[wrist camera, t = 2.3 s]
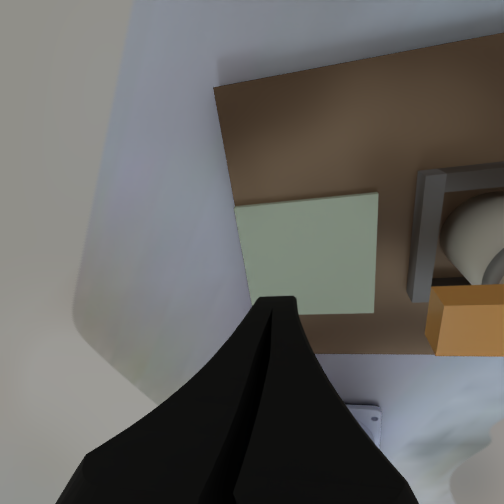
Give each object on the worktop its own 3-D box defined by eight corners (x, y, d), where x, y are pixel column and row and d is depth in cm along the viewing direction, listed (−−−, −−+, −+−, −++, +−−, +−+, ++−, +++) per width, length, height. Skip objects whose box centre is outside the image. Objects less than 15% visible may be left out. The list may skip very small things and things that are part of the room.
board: (587, 342, 17) (730, 465, 11) (263, 342, 21) (249, 434, 15) (753, -12, 10) (1348, -157, 4) (218, 88, 14) (160, 81, 8)
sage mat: (372, 309, 17) (373, 313, 17) (254, 312, 18) (253, 315, 18) (377, 192, 14) (378, 193, 14) (235, 206, 15) (233, 208, 15)
